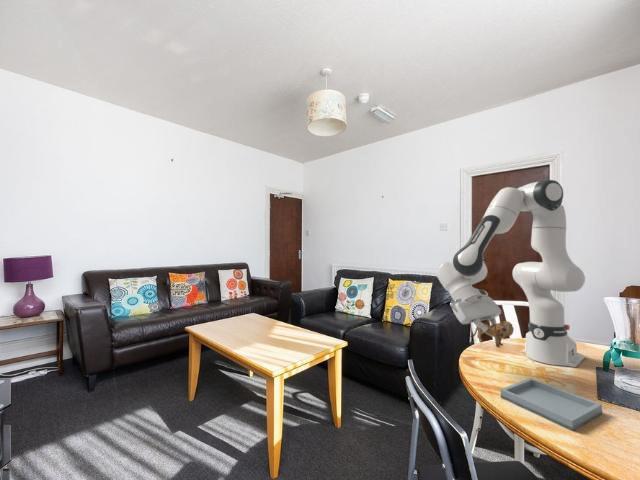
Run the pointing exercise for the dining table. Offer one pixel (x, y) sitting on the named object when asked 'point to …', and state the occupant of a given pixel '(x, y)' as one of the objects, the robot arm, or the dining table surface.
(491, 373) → the dining table surface
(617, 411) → the dining table surface
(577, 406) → the grey tray
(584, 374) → the dining table surface
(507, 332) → the lion figurine
